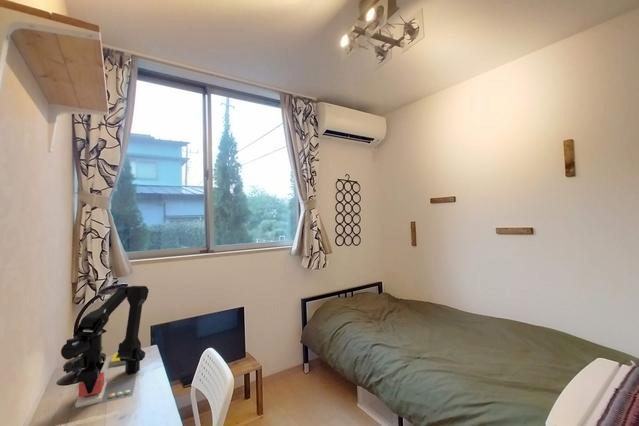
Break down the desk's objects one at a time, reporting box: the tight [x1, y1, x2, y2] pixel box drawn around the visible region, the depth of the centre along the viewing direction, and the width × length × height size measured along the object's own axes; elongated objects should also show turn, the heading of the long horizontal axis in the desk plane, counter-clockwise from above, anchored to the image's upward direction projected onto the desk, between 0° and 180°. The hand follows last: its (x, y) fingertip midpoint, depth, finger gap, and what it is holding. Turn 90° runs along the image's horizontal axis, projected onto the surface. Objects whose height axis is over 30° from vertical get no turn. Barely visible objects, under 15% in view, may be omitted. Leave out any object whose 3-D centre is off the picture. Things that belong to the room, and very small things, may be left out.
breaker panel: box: [70, 376, 137, 411], centre depth 119 cm, size 17×19×3 cm
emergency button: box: [109, 352, 125, 369], centre depth 149 cm, size 9×4×15 cm
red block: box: [78, 371, 105, 397], centre depth 115 cm, size 7×7×5 cm
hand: (91, 388), depth 115 cm, fingers closed on red block, 7 cm apart
